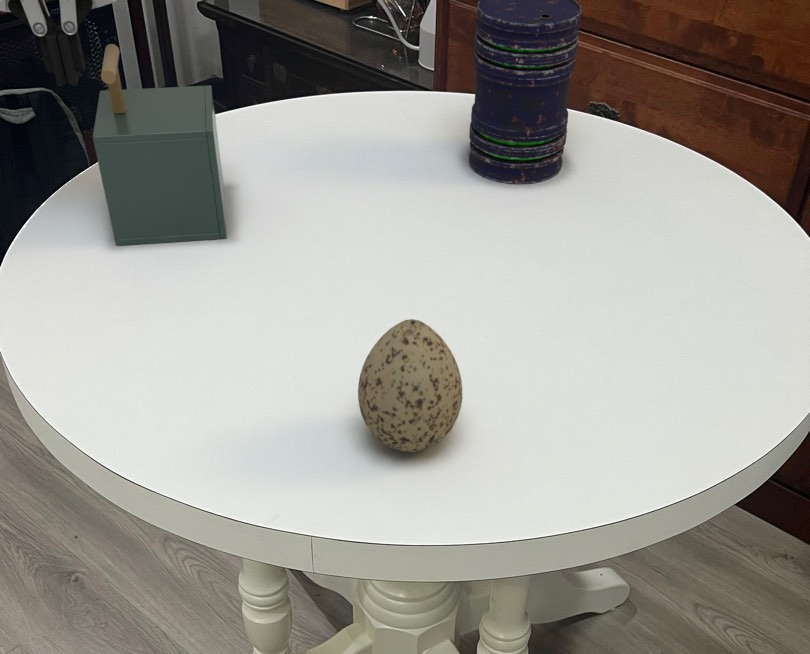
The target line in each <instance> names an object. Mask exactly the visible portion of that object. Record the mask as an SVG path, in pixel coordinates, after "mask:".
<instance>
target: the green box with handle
mask: <svg viewBox="0 0 810 654" xmlns="http://www.w3.org/2000/svg"><path fill="white" fill-rule="evenodd" d="M120 55H121V54H120V48H119V47H118V45H116V44H114V43H109V44H107V45H106V46H105V49H104V55H103V61H102V68H101V73H100V78H101V81H102V82H103V83H104V84H106V85H107V87H108V89H107V90H106V89H105V90H100V91H99V94H98V102H97V107H96V108H97V109H96V115H95V122H94V127H93V133H92V140H93V141H92V142H93V145H94V146H93V147H94V149H95V155H96V160H97V163H98V169H99V173H100V178H101V182H102V183H101V184H102V187H103V193H104V197H105V201H106V206H107V210H108V214H109V221H110V223H111V229H112V233H113V239H114V242H115V246H131V245H149V244H161V243H162V244H164V243H178V242H180V243H181V242H193V241H210V240H226V239H227V238H228V235H227V215H226V196H225V184H224V175H223V166H222V160H221V151H220V144H219V136H218V135H219V134H218V128H217V120H216V113H215V104H214V97H213V88H212V87H213V86H212V85H194V86H193V85H192V86H171V87H153V88H152V87H150V88H129V89H123V87H122V82H121V81H122V80H121V77H120V71H119V60H120Z"/></svg>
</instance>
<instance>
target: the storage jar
mask: <svg viewBox="0 0 810 654" xmlns="http://www.w3.org/2000/svg"><path fill="white" fill-rule="evenodd" d="M581 14H582V6H581V5H580V4H579V3H578V1H576V0H479V1H478V2H477V19H476V27H475V29H476V30H475V33H474V55H473V63H474V65H473V66H474V69H475V71H476V72H475V73H476V75H475V86H474V87H475V90H474V102H473V105H472V106H471V113H470V124H469V132H468V133H469V135H468V138H469V149H470V153H469V154H468V164H469V167H470V168H471V170H472V171H474V173H476V174H477V175H479V176H480V177H483V178H485V179H486V180H487V179H488V180H490V181H493V182H496V183H497V182H499V183H502V184H510V185H511V184H512V185H526V184H527V185H529V184H536V183H542V182H544V181H547V180H550V179H552V178H554V177H555V176H557V175H558V174H559V173H560V171H561V169H562V167H563V157H562V155H563V154H564V151H565V145H566V142H567V135H568V128H567V127H568V123H569V111H568V99H569V92H570V83H571V76H572V75H573V74H574V71H575V67H576V65H577V63H576V55H577V53H578V47H579V32H580V31H579V30H580V24H579V22H580V20H581Z"/></svg>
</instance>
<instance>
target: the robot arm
mask: <svg viewBox="0 0 810 654" xmlns="http://www.w3.org/2000/svg"><path fill="white" fill-rule="evenodd" d="M45 2H46V1H45V0H0V12H4V13H11V14H12V15H14V16H15V17H16V18H17V19H18V20H20V21H21V22H23V23H24V24H25V25H26V26H27V27H29V28H30V29H31V31H32V33H33V34H34V35H35V36H37V37H38V39H39V44H40V48H41V51H42V56H43V60H44V61H43V62H44V65H45V69H46V71H47V73H49V74H50V73H54V77H55V81H56V85H57V87H65V86H66V85H67V84H68V85H70V86H71V87H72V86H78V84H79V80H80V72H85V71H86V62H85V57H84V52H83V48H82V43H81V39H80V34H79V30H78V29H79V27H80V26H81V24H82V23H83V22H84V20H85V19H86V17H87V16H88V15H89V13H90V12H91V10H93V9H98V8H101V7H105V6H107V5H110V4H113V3H116V2H117V0H59V11H60V19H59V23H58V26H57V23H55V21H54V20H55V19H53V18H52V17H51V16H50V12H49V10H48V7H47V5H46V3H45Z"/></svg>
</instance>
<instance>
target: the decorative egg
mask: <svg viewBox="0 0 810 654" xmlns="http://www.w3.org/2000/svg"><path fill="white" fill-rule="evenodd" d="M357 399H358V400H357V401H358V406H359V407H358V408H359V411H360V414H361V417H362V420H363V421H364V424H365V425H366V427H367V429H368V430H369V432H370V433H371V434H372V435H373V436H374V437H375V438H376V439H377V440H378V441H379V442H380V443H381V444H383V445H384V446H387V447H389V448H391V449H393V450H396V451H398V452H402V453H403V452H405V453H415V452H421V451H425V450H428V449H430V448H432V447H434V446H435V445H438V444H439V443H440V442H441V441H443V440H444V439H445V438H446V437H447V436H448V435H449V433H450V432H451V431H452V429H453V428H454V426H455V424H456V423H457V420H458V419H459V416H460V412H461V409H462V404H463V381H462V376H461V372H460V369H459V366H458V363H457V360H456V358H455V356H454V354H453V353H452V351H451V349H450V347H449V346H448V344H447V343H446V342H445V340H444V339H443V338H442V337H441V336H440V335H439V334H438V332H437V331H435V329H433V328H432V327H430V325H428V324H427V323H425V322H423V321H422V320H419V319H418V320H417V319H414V318H412V319H405V320H402V321H400V322H398V323H396V324H395V325H393V326H392V327H391V328H389V329H388V330H387V331H386V332H385V333H384V334H383V335H382V336H381V337H380V338H379V339H378V340H377V341H376V342H375V344H374V345H373V346H372V347H371V349H370V351H369V353H368V354H367V356H366V358H365V361H364V363H363V365H362V367H361V370H360V374H359V378H358V386H357Z"/></svg>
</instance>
